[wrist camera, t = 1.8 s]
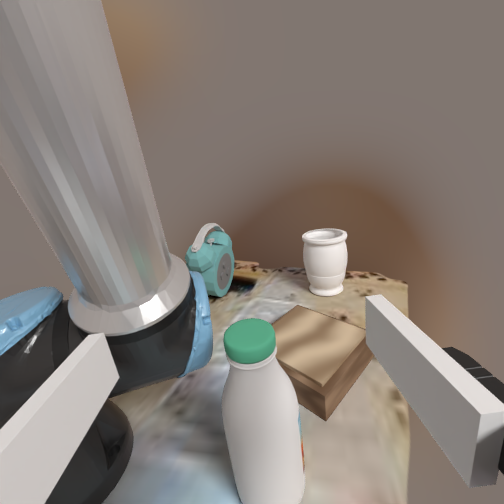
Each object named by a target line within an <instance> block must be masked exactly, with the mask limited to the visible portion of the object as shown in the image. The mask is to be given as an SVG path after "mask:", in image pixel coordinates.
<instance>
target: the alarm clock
mask: <svg viewBox="0 0 504 504" xmlns="http://www.w3.org/2000/svg"><path fill="white" fill-rule="evenodd" d="M212 227H213V228H214V229H215V230H216V231H214V232H211V233H210V234H209V235H208V236H207V237H206V238H205V242H204V243H203V241H204V237H205V235H206V233H207V232H208V230H210V229H211V228H212ZM224 232H225V231H224V230H223V229H222V228H221V227H220V226H219V225H217V224H215V223H209V224H206V225H205V226H203V227H202V228H201V230H200V232H199V233H198V235H197V236H196V239H195V241H194V244H193V245H191V246H190V247H189V249H188V251H187V253H186V256H185V259H186V262H187V264H186V266H187V268H188V270H189V271H192V272H193V271H196V272H199V273H200V274H201V275H202V277H203V279H204V282H205V286H206V290H207V294H208V295H213V296H219V297H222V296H224V295H225V294H226V293H227V291H228V289H229V287H230V284H231V281H232V277H233V272H234V256H233V252H232V249H231V248H232V242H231V239H230V237H229V236H228V235H227V234H225V233H224Z"/></svg>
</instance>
